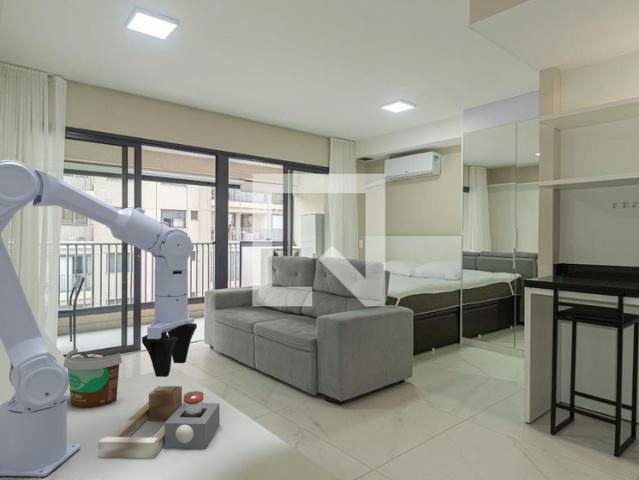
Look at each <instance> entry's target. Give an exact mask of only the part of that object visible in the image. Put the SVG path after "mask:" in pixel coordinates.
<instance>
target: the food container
mask: <svg viewBox="0 0 639 480" xmlns="http://www.w3.org/2000/svg"><path fill="white" fill-rule="evenodd" d="M122 359H123V358H122V355H121V353H120V352H118V353H115V354H110V355H106V354H102V353H98V352H95V353H93V352H92V353H81V352H79V349H78V348H75V349H72V350H70V351H68V352H67V354H66V356H65V358H64V362H63V368H64V369H67V373H68V376H69V385H68V389H69V395H70V398H69V399H70V404H71V406H72V407H73V408H76V409H93V408H94V409H95V408H99V407H103V406H108V405H110V404H113V403H115V402H117V400H118V399H117V398H118V396H117V395H118V387H119V386H118V385H119V373H120V365H121V364H123V360H122ZM114 401H115V402H114ZM112 402H113V403H112Z"/></svg>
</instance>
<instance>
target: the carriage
mask: <svg viewBox="0 0 639 480" xmlns="http://www.w3.org/2000/svg"><path fill="white" fill-rule="evenodd" d="M148 402H149V418H148V421H149V422H166V421H167V420H168V419H169V418H170V417H171V416H172V415H173V414H174V413H175V411H176V410H177V409H178V408H179V407H180V406H181V405H182V404H183V386H182V385H181V386H179V385H178V386H177V385H159V386H158V385H157V386H156V387H155V388H154V389H153V390H152V391H150V392H149V393H148Z"/></svg>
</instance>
